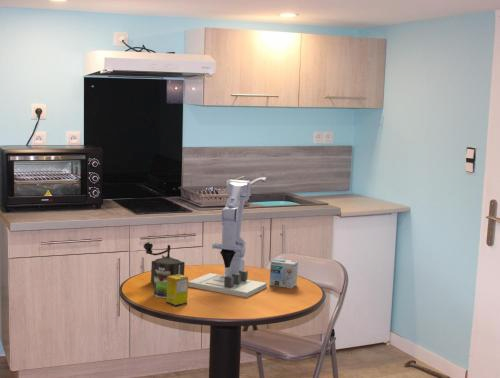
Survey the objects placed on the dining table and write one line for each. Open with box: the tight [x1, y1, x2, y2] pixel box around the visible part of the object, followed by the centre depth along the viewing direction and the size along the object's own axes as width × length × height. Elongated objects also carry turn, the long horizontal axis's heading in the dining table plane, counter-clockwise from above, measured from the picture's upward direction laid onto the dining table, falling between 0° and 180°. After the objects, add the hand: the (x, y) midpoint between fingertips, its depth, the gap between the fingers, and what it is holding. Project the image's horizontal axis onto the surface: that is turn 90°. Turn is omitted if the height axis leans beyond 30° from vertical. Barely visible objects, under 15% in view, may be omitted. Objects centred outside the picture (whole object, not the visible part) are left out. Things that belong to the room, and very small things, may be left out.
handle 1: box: [224, 276, 234, 288], centre depth 297 cm, size 2×3×4 cm
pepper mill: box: [143, 242, 186, 284], centre depth 304 cm, size 16×11×18 cm
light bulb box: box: [269, 258, 299, 289], centre depth 312 cm, size 11×7×11 cm, turn 68°
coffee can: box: [153, 257, 181, 299], centre depth 287 cm, size 10×10×14 cm
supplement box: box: [166, 274, 189, 308], centre depth 276 cm, size 6×6×11 cm
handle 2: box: [239, 269, 249, 281], centre depth 308 cm, size 2×3×4 cm
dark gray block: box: [232, 273, 241, 284], centre depth 303 cm, size 2×3×4 cm
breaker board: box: [188, 272, 268, 298], centre depth 305 cm, size 19×28×2 cm
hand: (227, 267), depth 304 cm, fingers closed
